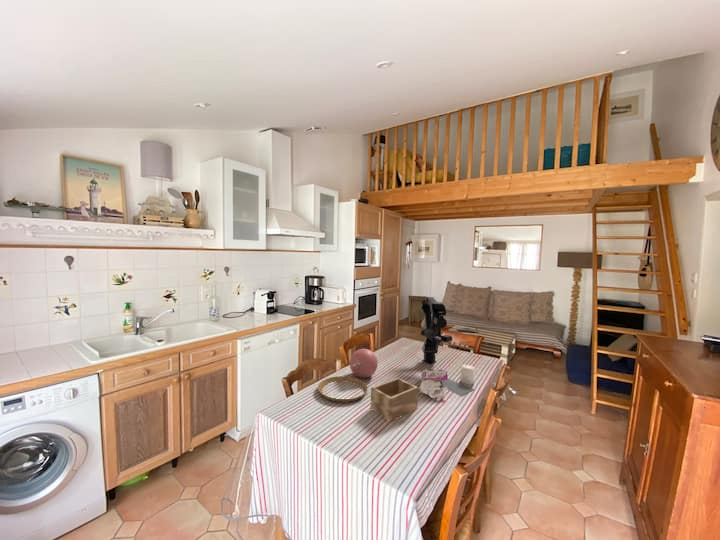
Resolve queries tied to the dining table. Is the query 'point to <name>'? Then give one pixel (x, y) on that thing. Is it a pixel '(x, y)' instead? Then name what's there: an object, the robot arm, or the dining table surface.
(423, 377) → the candy bar box
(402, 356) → the dining table surface
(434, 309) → the robot arm
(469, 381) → the cream domed cylinder
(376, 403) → the rectangular brown crate
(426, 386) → the coral
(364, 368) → the pink ball
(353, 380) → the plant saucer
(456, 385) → the mat
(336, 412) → the dining table surface
